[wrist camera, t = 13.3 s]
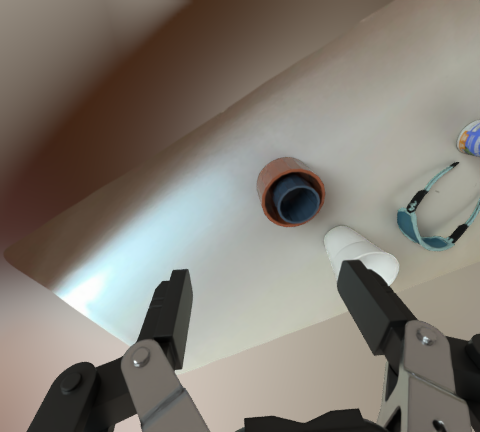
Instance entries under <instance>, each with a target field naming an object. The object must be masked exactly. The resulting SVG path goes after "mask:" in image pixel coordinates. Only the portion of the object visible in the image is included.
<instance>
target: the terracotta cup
mask: <svg viewBox="0 0 480 432" xmlns="http://www.w3.org/2000/svg"><path fill="white" fill-rule="evenodd" d="M291 172H299V173H300V174H301V175H302V177H303V178H304V179H305V180H306V181H307V182H308V183H309V184H310V185H311V186H312V188H313V189H314V190H315V191H316V192H317V193H318V195H319V199H320V204H319V209H318V210H317V212H316V214H315V215H314V216H313V217H312V218H311V219H313V218H314V217H315V216H316V215H317V213H318V212H319V211H320V209H321V207H322V205H323V204H324V199H325V189H324V184H323V183H322V181H321V179H320V178H319V177H318V176H317V175H316V174H315V173H314V172H313V171H312V170H311V169H310V168H308V167H307V166H306V165H305V164H304V163H303V162H301V161H300V160H298V159H295V158H291V157H283V158H278V159H276V160H273V161H272V162H270V163H269V164H267V165H266V166H265V167H264V168H263V169H262V171H261V172H260V174H259V177H258V180H257V192H258V195H259V199H260V202H261V205H262V208H263V211H264V214H265V215H266V216H267V218H268V219H269V220H270V221H272V222H273V223H275V224H277V225H279V226H284V227H295V226H299V225H302V224H304V223H306V222H308V221H310V220H311V219H309V220H308V221H305V222H303V223H299V224H292V223H289V222H286V221H284V220H283V219H282V218H281V217H280V215H279V213H278V211H277V208H276V206H275V204H274V202H273V199H272V197H271V195H270V192H269V187H270V186H271V184H272V183H273V182H274V181H275V180H276V179H278V178H279V177H281V176H282V175H285V174H288V173H291Z"/></svg>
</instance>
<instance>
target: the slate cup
mask: <svg viewBox="0 0 480 432" xmlns="http://www.w3.org/2000/svg"><path fill="white" fill-rule="evenodd" d="M269 192H270V195H271V197H272V199H273V202H274V204H275V206H276V208H277V211H278V213H279V215H280V217H281V218H282V219H283V220H284V221H286V222H289V223H292V224H299V223H303V222H305V221H308V220H309V219H311V218H312V217H313V216H314V215H315V214H316V212H317V210H318V209H319V204H320V199H319V195H318V193H317V192H316V191H315V190H314V189H313V188H312V186H311V185H310V184H309V183H308V182H307V181H306V180H305V179H304V178H303V177H302V175H301V174H300V173H299V172H291V173H288V174H285V175H282V176H281V177H279V178H278V179H276V180H275V181H274V182H273V183H272V184H271V186H270V187H269Z"/></svg>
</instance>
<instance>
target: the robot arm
mask: <svg viewBox="0 0 480 432" xmlns="http://www.w3.org/2000/svg"><path fill="white" fill-rule="evenodd" d="M337 289H338V292H339V294H340V296H341V298H342V300H343V301H344V303H345V305H346V307H347V308H348V310H349V312H350V314H351V315H352V317H353V319H354V321H355V323H356V324H357V326H358V328H359V330H360V332H361V333H362V335H363V337H364V339H365V340H366V342H367V344H368V346H369V348H370V349H371V351H372V353H373V354H374V356H375V355H385V357H386V359H387V362H386V366H385V375H384V385H383V394H382V403H381V409H380V412H379V416H378V419H377V423H374V422H372V421H369V420H367V419H363V418H362V415H361V413H360V410H359V409H346V410H335V411H330V412H327V413H325V414H323V415H321V416H319V417H317V418H315V419H313V420H311V421H309V422H306V423H300V422H296V421H292V420H288V419H283V418H280V417H276V416H265V417H253V418H245V419H244V424H245V427H243V428H241V429H239V430H237V431H236V432H472V429H471V426H472V428H473V429H474V431H475V432H480V334H476V335H474V336H473V337H472V338H471V340H470V341H466V340H461V339H457V338H452V337H448V336H444V335H443V334H442V333H441V332H440V331H439V330H438V329H437V328H435V327H434V326H432V325H430V324H428V323H426V322H423V321H419V320H417V318H416V317H415V316H414V315H413V314H412V312H411V311H410V310H409V309H408V308H407V306H406V305H405V304H404V303H403V302H402V300H401V299H400V298H399V297H398V296H397V294H396V293H394V291H393V290H392V289H391V287H390V286H388V284H387V283H386V281H385V280H384V279H383V278H382V277H381V276H380V275H379V274H377V273H376V272H375V271H373V270H372V269H367V268H366V267H365V265H364V264H363V263H362V262H361V261H360V260H358V259H356V260H344V261H342V264H341V268H340V272H339V276H338V280H337ZM192 301H193V292H192V285H191V280H190V274H189V270H188V269H181V270H173V271H172V274H171V277H170V281H162V282H161V283H160V284H159V286H158V287H157V288H156V289H155V292H154V295H153V297H152V301H151V303H150V306H149V309H148V312H147V314H146V317H145V320H144V323H143V326H142V329H141V332H140V334H139V337H138V340H137V342H136V343H135V344H134V345H132V346H131V347H130V348H129V349H128V350H127V351H126V353H125V354H124V356H122V357H120V358H118V359H116V360H114V361H111V362H109V363H106V364H103V365H101V366H98V367H94V365H93V364H91V363H89V362H81V363H77V364H75V365H72V366H71V367H69V368H67V369H66V370H65V371H64V372H62V373H61V374H60V375H59V376H58V377H57V378H56V380H55V381H54V382H53V384H52V385H51V387H50V389H49V391H48V393H47V395H46V396H45V398H44V401H43V402H42V404H41V406H40V408H39V410H38V412H37V414H36V415H35V417H34V419H33V421H32V423H31V424H30V426H29V428H28V430H27V432H113V431H114V428H115V424H116V423H118V422H120V421H122V420H125V419H127V418H129V417H131V416H133V415H135V414H138V416H139V419H140V422H141V429H142V432H210V430H209V429H208V427H207V425H206V423H205V421H204V420H203V418H202V416H201V414H200V413H199V411H198V409H197V408H196V405H195V404H194V402H193V400H192V398H191V397H190V395H189V393H188V392H187V390H186V389H185V388H183V386H182V385H181V383H180V381H179V379H178V378H177V376H176V374H175V370H180V369H182V367H183V360H184V354H185V347H186V341H187V334H188V328H189V321H190V315H191V308H192Z"/></svg>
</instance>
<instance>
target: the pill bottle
mask: <svg viewBox="0 0 480 432" xmlns="http://www.w3.org/2000/svg"><path fill="white" fill-rule="evenodd" d="M457 148H458V149H459V151H461V152H463V153H466V154H469V155H473V156H477V157H480V120H476V121H474V122H472V123H470V124H469V125H467V126H466V127H465V128H464V129H463V130H462V132H461V133H460V135H459V137H458V140H457Z"/></svg>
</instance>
